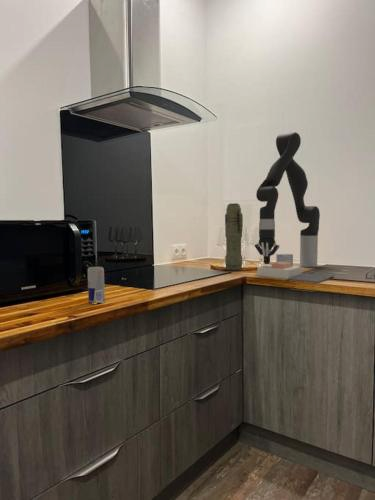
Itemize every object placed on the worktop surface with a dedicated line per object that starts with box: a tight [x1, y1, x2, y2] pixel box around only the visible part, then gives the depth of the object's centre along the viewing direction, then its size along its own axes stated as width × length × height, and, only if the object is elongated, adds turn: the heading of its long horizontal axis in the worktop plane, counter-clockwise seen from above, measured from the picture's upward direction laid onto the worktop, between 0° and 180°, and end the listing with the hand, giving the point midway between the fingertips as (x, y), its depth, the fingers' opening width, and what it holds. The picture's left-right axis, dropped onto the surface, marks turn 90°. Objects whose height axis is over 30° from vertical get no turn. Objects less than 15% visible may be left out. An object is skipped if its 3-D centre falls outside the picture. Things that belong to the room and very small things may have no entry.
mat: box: [287, 272, 335, 284], centre depth 171 cm, size 18×14×1 cm
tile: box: [270, 262, 292, 269], centre depth 180 cm, size 9×6×2 cm, turn 139°
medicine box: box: [275, 253, 294, 266], centre depth 196 cm, size 8×4×9 cm, turn 84°
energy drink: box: [87, 266, 106, 304], centre depth 128 cm, size 5×5×12 cm
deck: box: [256, 264, 303, 280], centre depth 181 cm, size 14×16×4 cm
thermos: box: [224, 202, 244, 272], centre depth 202 cm, size 9×12×35 cm
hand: (266, 263), depth 186 cm, fingers closed
